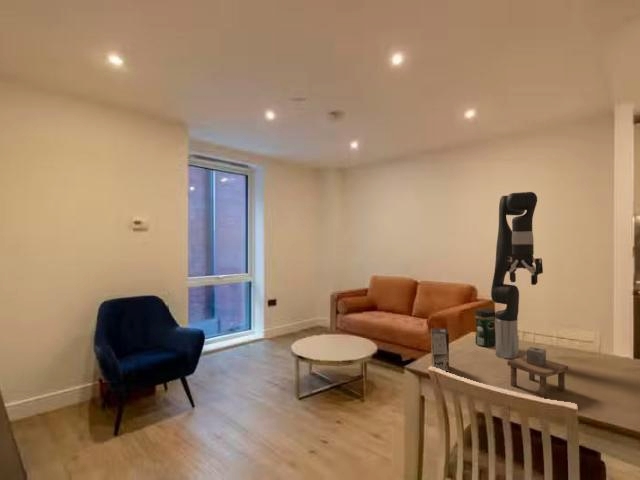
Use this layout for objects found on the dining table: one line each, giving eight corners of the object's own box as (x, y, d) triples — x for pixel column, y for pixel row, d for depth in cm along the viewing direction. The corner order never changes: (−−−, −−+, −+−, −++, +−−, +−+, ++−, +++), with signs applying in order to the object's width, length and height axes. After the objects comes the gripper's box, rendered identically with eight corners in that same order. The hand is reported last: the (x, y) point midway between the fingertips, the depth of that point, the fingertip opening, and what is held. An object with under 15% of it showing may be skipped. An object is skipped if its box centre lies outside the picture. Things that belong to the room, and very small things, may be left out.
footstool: (530, 377, 144) (530, 354, 144) (568, 390, 132) (568, 366, 132) (507, 384, 138) (507, 361, 138) (544, 399, 125) (544, 373, 125)
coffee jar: (486, 341, 192) (485, 306, 192) (498, 345, 185) (498, 309, 185) (472, 343, 188) (472, 308, 188) (484, 348, 181) (484, 311, 181)
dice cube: (545, 363, 135) (545, 349, 135) (542, 366, 131) (542, 352, 131) (530, 359, 138) (530, 346, 138) (526, 363, 135) (526, 349, 135)
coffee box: (449, 372, 151) (449, 333, 150) (433, 371, 152) (432, 333, 152) (446, 364, 160) (446, 328, 159) (431, 363, 161) (430, 327, 161)
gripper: (500, 243, 149) (501, 282, 150) (534, 243, 137) (535, 286, 137) (511, 241, 153) (512, 280, 153) (546, 242, 140) (547, 284, 141)
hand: (523, 283), depth 145 cm, fingers open, 8 cm apart
